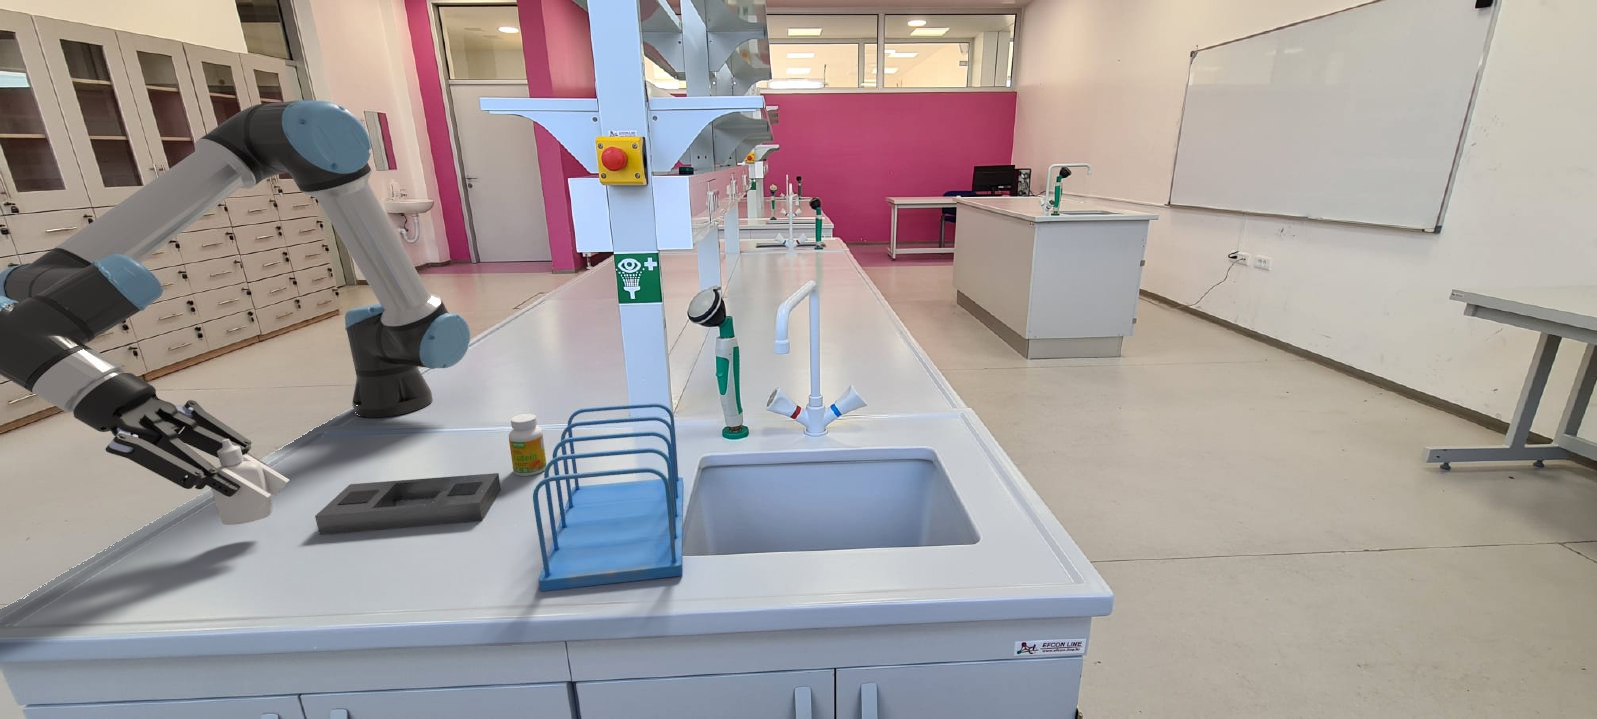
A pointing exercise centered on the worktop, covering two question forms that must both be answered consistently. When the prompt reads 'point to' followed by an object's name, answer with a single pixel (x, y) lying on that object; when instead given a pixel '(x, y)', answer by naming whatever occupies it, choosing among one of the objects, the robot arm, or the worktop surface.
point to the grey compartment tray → (378, 499)
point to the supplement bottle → (527, 446)
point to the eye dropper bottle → (250, 471)
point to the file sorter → (613, 515)
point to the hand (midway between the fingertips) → (273, 494)
